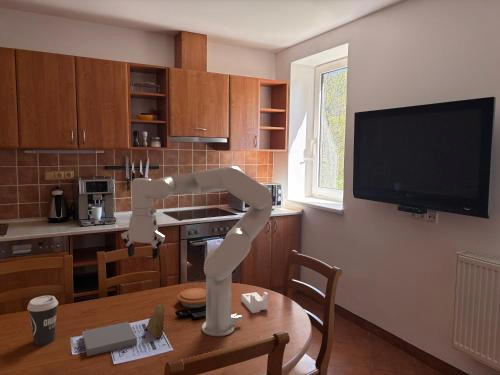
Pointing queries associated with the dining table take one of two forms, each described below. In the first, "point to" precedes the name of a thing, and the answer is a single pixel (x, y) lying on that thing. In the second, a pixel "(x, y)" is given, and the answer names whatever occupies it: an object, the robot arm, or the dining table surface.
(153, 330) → the rock
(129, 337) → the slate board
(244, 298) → the bracket
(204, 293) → the pie
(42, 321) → the coffee cup
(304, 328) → the dining table surface
